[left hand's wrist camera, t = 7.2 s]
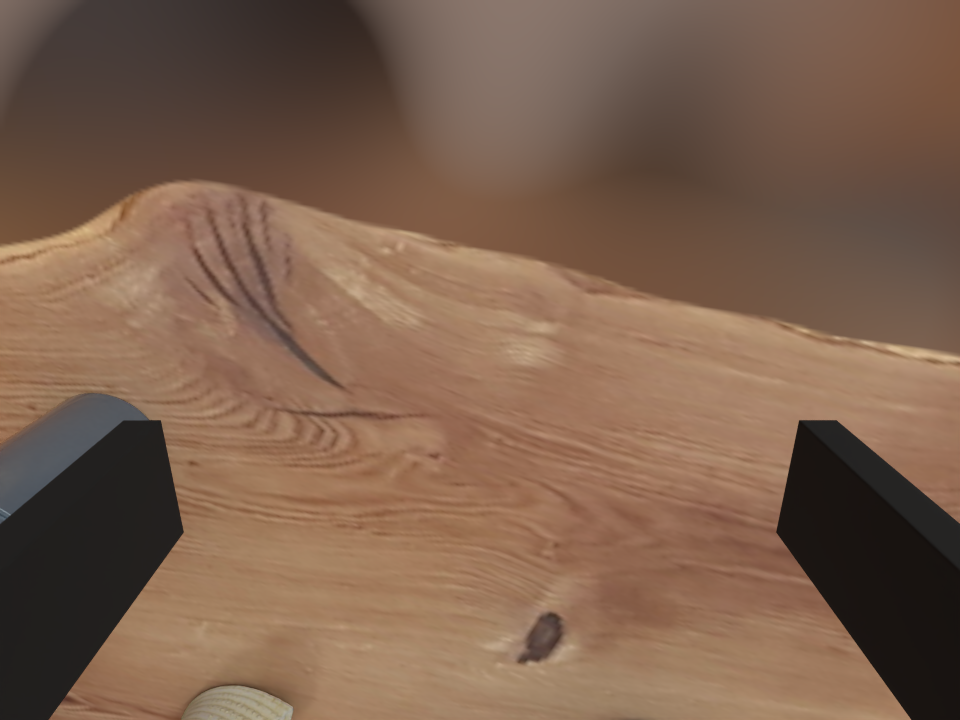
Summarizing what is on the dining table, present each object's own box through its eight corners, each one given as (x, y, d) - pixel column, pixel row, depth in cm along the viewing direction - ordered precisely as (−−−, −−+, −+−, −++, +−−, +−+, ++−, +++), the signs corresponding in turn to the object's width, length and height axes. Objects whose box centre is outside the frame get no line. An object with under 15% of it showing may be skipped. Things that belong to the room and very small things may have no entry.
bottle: (183, 435, 44) (16, 611, 28) (131, 511, 46) (-50, 714, 31) (76, 370, 42) (-165, 520, 26) (28, 453, 45) (-221, 636, 29)
